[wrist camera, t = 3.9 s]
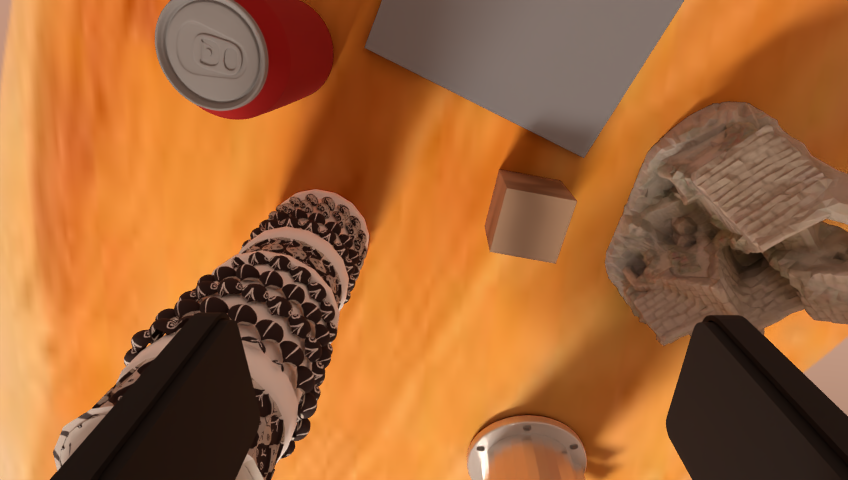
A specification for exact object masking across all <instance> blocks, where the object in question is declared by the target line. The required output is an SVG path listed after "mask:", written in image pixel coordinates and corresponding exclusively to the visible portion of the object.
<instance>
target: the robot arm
mask: <svg viewBox="0 0 848 480" xmlns="http://www.w3.org/2000/svg"><path fill="white" fill-rule="evenodd" d="M259 424H260V411H259V407H258V403H257V399H256V395H255V391H254V387H253V383H252V379H251V375H250V371H249V367H248V363H247V359H246V355H245V351H244V347H243V343H242V339H241V335H240V331H239V327H238V324H237V322H236V321H235V320H230V318H229V316H228V315H227V314H226V313H208V312H199V313H195V314H194V315H193V316H191V318H190V319H189V320H188V321H187V322H186V323H185V325H184V326H183V327H182V328H181V329H180V330H179V331H178V333H177V334H176V335H175V336H174V337H173V338H172V340H171V341H170V342H169V343H168V344H167V345H166V346H165V348H164V349H163V350H162V351H161V352H160V353H159V355H158V356H157V357H156V358H155V359H154V360H153V361H152V363H151V364H150V365H149V366H148V367H147V368H146V369H145V371H144V372H143V373H142V374H141V375H140V376H139V378H138V379H137V380H136V381H135V382H134V383H133V384H132V386H131V387H130V388H129V389H128V390H127V391H126V393H125V394H124V395H123V396H122V397H121V398H120V399H119V401H118V402H117V403H116V404H115V405H114V406H113V408H112V409H111V410H110V411H109V412H108V413H107V414H106V416H105V417H104V418H103V419H102V420H101V421H100V422H99V424H98V425H97V426H96V427H95V428H94V429H93V431H92V432H91V433H90V434H89V435H88V436H87V437H86V439H85V440H84V441H83V442H82V443H81V444H80V446H79V447H78V448H77V449H76V450H75V451H74V452H73V454H72V455H71V456H70V457H69V458H68V459H67V461H66V462H65V463H64V464H63V465H62V466H61V467H60V469H59V470H58V471H57V472H56V473H55V474H54V475H53V477H52V478H51V479H50V480H235V479H236V477H237V475H238V473H239V471H240V468H241V466H242V464H243V462H244V460H245V458H246V455H247V453H248V451H249V449H250V447H251V444H252V442H253V440H254V438H255V436H256V434H257V431H258V428H259ZM666 428H667V433H668V436H669V438H670V440H671V442H672V444H673V445H674V447H675V449H676V451H677V453H678V454H679V456H680V458H681V460H682V462H683V464H684V465H685V467H686V469H687V471H688V473H689V474H690V476H691V478H692V480H848V416H847V415H846V414H845V413H843V411H842V410H840V409H839V407H837V406H836V405H835V404H834V403H833V402H832V401H831V400H830V399H829V398H828V397H827V396H826V395H825V394H824V393H823V392H822V391H821V390H820V389H819V388H818V387H817V386H816V385H815V384H814V383H813V382H812V381H810V380H809V379H808V378H807V377H806V376H805V375H804V374H803V373H802V372H801V371H800V370H799V369H798V368H797V367H796V366H795V365H794V364H793V363H792V362H791V361H790V360H789V359H788V358H787V357H786V356H784V355H783V354H782V353H781V352H780V351H779V350H778V349H777V348H776V347H775V346H774V345H773V344H772V343H771V342H770V341H769V340H768V339H767V338H766V337H765V336H764V335H763V334H762V333H761V332H760V331H759V330H757V329H756V328H755V327H754V326H753V325H752V324H751V323H750V322H749V321H748V320H747V319H746V318H744V317H743V316H740V315H708V316H706V317H705V318H704V319H703V321H702V322H699V323H697V324H696V325H695V327H694V329H693V332H692V335H691V339H690V342H689V345H688V349H687V352H686V355H685V359H684V362H683V365H682V369H681V372H680V375H679V379H678V382H677V385H676V388H675V392H674V395H673V398H672V402H671V405H670V408H669V412H668V415H667V419H666ZM586 466H587V457H586V452H585V449H584V446H583V444H582V441H581V440H580V438H579V437H578V435H577V434H576V433H575V432H574V431H573V430H572V429H571V428H569V427H568V426H566V425H564V424H563V423H561V422H559V421H556V420H554V419H551V418H546V417H542V416H532V415H524V416H514V417H509V418H505V419H502V420H500V421H497V422H494V423H493V424H491V425H489V426H487V427H486V428H484V429H483V430H482V431H481V432H479V433H478V434H477V435H476V437H475V438H474V439H473V440H472V442H471V444H470V446H469V448H468V453H467V468H468V473H469V476H470V478H471V480H585V477H584V473H585V470H586Z"/></svg>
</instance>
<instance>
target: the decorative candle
mask: <svg viewBox="0 0 848 480" xmlns="http://www.w3.org/2000/svg"><path fill="white" fill-rule="evenodd" d="M250 237H251V240H247V241H245V242H244V244H243V245H242V249H241V250H240V252H239V254H237V255H235V256H233V257H232V258H230V259H229V260H227V261H226V262H224V263H223V264H221V265H220V266H219V267H217V268H216V269H215V270H214V271H213V273H212V275H204V276H203V277H201V278H200V279H199V281H198V283H197V287H196V288H195V289H194V290H192V291H188V292H185V293H183V294H182V295H181V296H180V298H179V301H178V302H177V303H176V305H175V308H174V309H165V310H163V311H161V312H160V313H158V315H157V316H156V319H155V320H156V321H155V322H154V323H153V324H152V325H151V327H150V329H149V330H142V331H139V332H137V333H136V334H135V335H134V336H133V337H132V339H131V343H132V347H133V348H132V349H130V350H129V351H128V352H127V353H126V355H125V357H124V363H125V365H126V367H125V368H124V369H123V370H122V372H121V374H120V376H119V379H118V381H117V383H116V385H115V386H114V387H113V388H111V389H110V390H109V391H108V392H107V393H106V394H105V395H104V396H103V397H102V398H101V399H100V400H99V401H98V402H97V403H96V404H95V405H94V407H93V408H92V409H91V410H89V411H87V412H86V413H84V414H83V415H81V416H80V417H78V418H76V419H75V420H73V421H72V422H70V423H68V424H67V425H65V426H64V427H63V429H62V432H61V434H60V437H59V439H58V441H57V444H56V446H55V449H54V451H53V454H54V458H55V463H56V467H57V471H58V470H59V469H60V467H61V466H62V465H63V464H64V463H65V462H66V461H67V459H68V458H69V457H70V456H71V455H72V454H73V452H74V451H75V450H76V449H77V448H78V447H79V446H80V444H81V443H82V442H83V441H84V440H85V439H86V437H87V436H88V435H89V434H90V433H91V432H92V431H93V429H94V428H95V427H96V426H97V425H98V424H99V422H100V421H101V420H102V419H103V418H104V417H105V416H106V414H107V413H108V412H109V411H110V410H111V409H112V408H113V406H114V405H115V404H116V403H117V402H118V401H119V399H120V398H121V397H122V396H123V395H124V394H125V393H126V391H127V390H128V389H129V388H130V387H131V386H132V384H133V383H134V382H135V381H136V380H137V379H138V378H139V376H140V375H141V374H142V373H143V372H144V371H145V369H146V368H147V367H148V366H149V365H150V364H151V363H152V361H153V360H154V359H155V358H156V357H157V356H158V355H159V353H160V352H161V351H162V350H163V349H164V348H165V346H166V345H167V344H168V343H169V342H170V341H171V340H172V338H173V337H174V336H175V335H176V334H177V333H178V331H179V330H180V329H181V328H182V327H183V326H184V325H185V323H186V322H187V321H188V320H189V319H190V318H191V316H193V315H194V314H195V313H199V312H208V313H226V314H227V315H228V316H229V318H230V320H235V321H236V322H237V324H238V327H239V331H240V335H241V339H242V343H243V347H244V351H245V355H246V359H247V363H248V367H249V371H250V375H251V379H252V383H253V387H254V391H255V395H256V399H257V403H258V407H259V411H260V424H259V428H258V431H257V434H256V436H255V438H254V440H253V442H252V444H251V447H250V449H249V451H248V453H247V455H246V458H245V460H244V462H243V464H242V466H241V468H240V471H239V473H238V475H237V477H236V479H235V480H271V478H272V476H273V473H274V471H275V469H274V467H275V465H276V463H277V462H278V461H279V459H281V458H285V457H287V456H289V455H290V454H291V453H292V452H293V451H294V449H295V442H294V441H299V440H301V439H303V438H304V437H305V436H306V435H307V434H308V432H309V431H310V421H309V420H308V419H307V418H309V417H311V416H312V415H313V414H314V413H315V411H316V408H317V400H318V399H319V397H320V389H319V387H318V386H320V385H321V384H322V383H323V381H324V378H325V368H326V367H327V366H328V365H329V363H330V361H331V354H332V351H333V348H332V346H331V343H332V341H333V340H334V339H335V338H336V336H337V328H338V321H339V313H340V312H339V311H340V310H341V308H342V307H343V304H345V303H347V302H348V301H349V299H350V292H351V291H352V290H353V288H354V286H355V281H356V279H357V278H358V276H359V271H360V269H361V268H362V266H363V263H364V259H365V257H366V254H367V249H368V243H369V233H368V229H367V226H366V222H365V219H364V217H363V216H362V215H361V213H360V212H359V211H358V210H357V208H356V207H355V206H354V204H353V203H351V202H350V201H348V200H346V199H345V198H343V197H341V196H340V195H338V194H337V193H334V192H329V191H324V190H319V189H313V190H307V191H302V192H297V193H296V194H294V195H293V196H291V197H290V198H288V199H287V200H286V201H284V202H283V203H282V204H281V205H278V206H277V207H276V211H272V212H271V213H270V214H269V218H268V220H264V221H262V222H261V224H260V225H259V228H256V229H254V230H253V231H252V232H251V234H250ZM165 333H166V334H167V335H165V336H163V335H164V334H165ZM148 343H151V345H149V346H148V347H146V346H147V345H148ZM296 424H297V425H296Z"/></svg>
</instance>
